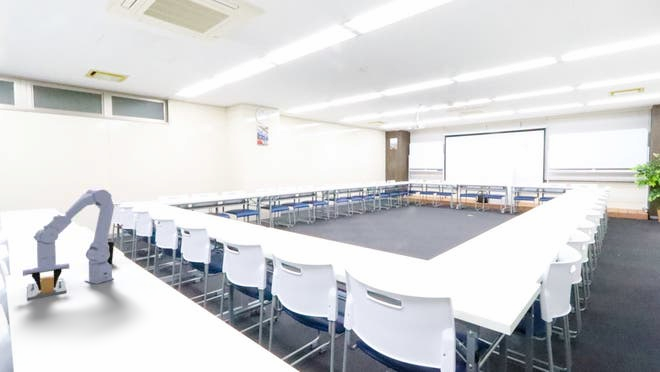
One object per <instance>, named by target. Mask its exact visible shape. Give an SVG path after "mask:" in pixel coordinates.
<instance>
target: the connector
mask: <svg viewBox="0 0 660 372" xmlns="http://www.w3.org/2000/svg"><path fill="white" fill-rule="evenodd" d="M50 275H51V276H49V275H45V277H43V276H40V277H41V294H42V293H48V292H53V291H54V274H50Z"/></svg>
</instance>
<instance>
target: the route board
mask: <svg viewBox="0 0 660 372" xmlns="http://www.w3.org/2000/svg"><path fill="white" fill-rule="evenodd" d="M59 280H61V286H60V287H59ZM67 292H68V291H67V288H66V284H65V280H64V278H63V277H60V278H58V280H57V283H56V287H55V288H54V291H53V292H48V293H42V294H41V290H39V288H38V285H37V283H36V282H34V289H32V283H28V284H27V300H28V299H31V300H35V299H34V298H36V299H40V298H39V297H41V298H46V297H50V296H56V295H61V294H66V293H67Z"/></svg>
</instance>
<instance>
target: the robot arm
mask: <svg viewBox="0 0 660 372" xmlns="http://www.w3.org/2000/svg"><path fill="white" fill-rule="evenodd" d="M92 205H95V206H96V207H98V209H99V213H98V218H97V223H96V228H95V232H94V238H93V241H92V242H91V243H90V245H89V248H88V249H87V251H85V257H86V259H88V279H85V280H84V282H86V283H91V284H95V285H99V284H102V283H105V282H107V281H112V280H114V279H115V278H114V277H113V267H112V264H109V263H108V262H107V260H108V259H109V257H110V252H109V245H108V243H107V242H108V239H109V235H110V229H111V225H112V224H111V223H112V218H113V214H114V209H115V205H114V202H113V200H112V194H111V193H110V192H109V191H108V190H106V189H97V188H91V189H88V190H87V191H86V192H85V193H83V194H82V195H81V196H80V198H78V200H76V202H75V203H74V204H73V205H71V207H70V208H69V209H68V210H66V212H64V213H63V214H57V215H54V216H53V217H52V220H51V221H50V222H49V223H48V224H46V225H44V226H42V227H43V228H42V229H39V230H37V231H36V233H35V235H34V236H33V238H34V240H35V241H36V244H37V245H36V246H37V247H36V252H37V253H36V255H37V256H36V257H37V258H36V259H37V267H34V268H28V269H23V270H22V276H23V277H26V276H29V275H31V277H32V279H33V280H34V283H37V285H38V288H39V290H41V284H40V277H41V274H42V273H46V272H53V277H54V288H55V287H56V283H57V280H58V279H60V276H61V274H62V272H63V271H62V270H67V269H70V263H62V264H57V262H56V259H57V258H56V252H57V251H56V241H57V240H58V238H59V235H60V234H61V233H62V232H63V231H64V230H65V229H66V228H67V227H68V226H70V224H71V223H72V219H73V218H74V217H75V216H77V214H79V213H80V212H81V211H82V210H83V209H85V208H86V207H87V206H92Z"/></svg>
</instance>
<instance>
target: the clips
mask: <svg viewBox="0 0 660 372" xmlns="http://www.w3.org/2000/svg"><path fill="white" fill-rule="evenodd" d="M34 283H35V281H34V282H31V284H32V289H34ZM60 286H61V280H59V287H60Z"/></svg>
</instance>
